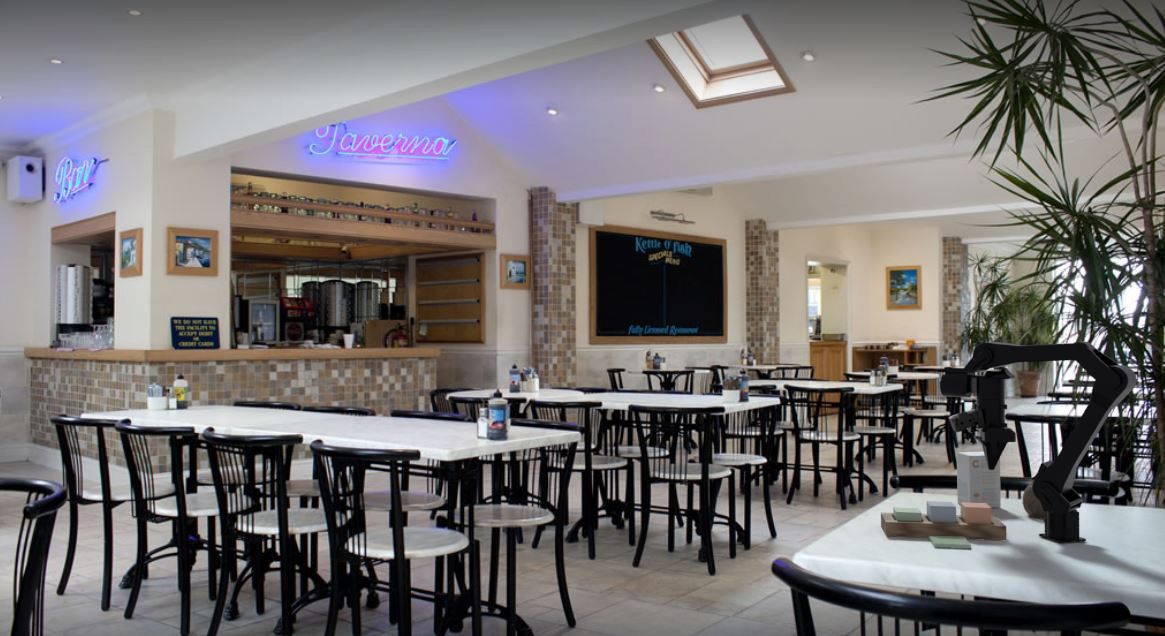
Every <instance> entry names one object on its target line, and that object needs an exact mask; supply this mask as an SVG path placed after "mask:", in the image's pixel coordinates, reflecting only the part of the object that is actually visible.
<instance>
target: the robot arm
mask: <svg viewBox="0 0 1165 636" xmlns="http://www.w3.org/2000/svg"><path fill="white" fill-rule="evenodd" d="M1055 361H1056V362H1059V361H1061V362H1062V361H1063V362H1064V361H1065V362H1066V361H1075V362H1076V363H1077V364H1079V365H1080V366H1081V367H1082V369H1083V370H1084V371H1085V372H1086V373H1087V374H1088V375H1089V376H1090V377H1091V378H1093V379H1094V382H1093V385H1092V388H1091V393H1090V399H1089V402H1088V405H1087V406H1086V408H1085V410H1083V413H1082V415H1081V416H1080V418H1079V419H1078V421H1077V422H1076V424H1075V425H1074V428H1073V429H1072V432H1071V433H1070V434H1069V436H1068V438H1067V440H1066V441H1065V443H1064V445H1063V447H1062V448H1061V450H1060V452H1059V453H1058V455H1057V457H1056V458H1055V459H1054V460H1048V461H1044V462H1042V463H1040V465H1039V467H1038V470H1037V472H1036V474H1035V475H1034V476H1033V477H1031V481H1032V480H1035V481H1034V482H1033V485H1032V490H1033V493H1034V495H1035V496H1036V498H1037V499H1039V500H1040V503H1041V505H1042V508H1043V510H1044V511H1045V518H1044V533H1039V534H1038V536H1039V537H1041V538H1043V539H1047V540H1049V541H1053V542H1056V543H1061V544H1063V543H1079V542H1087V538H1085V537H1082V536H1080V511H1078V510H1077V509H1080V508H1081V507H1082V505H1083V502H1084V498H1083V497H1082V496H1081V495H1080V494H1079V493H1078V492H1077V491H1076V490H1075V489H1074V488H1073V485H1074V482H1075V480H1076V475H1077V470H1078V466H1079V464H1080V463H1081V462H1082V460H1083V458H1084V457H1085V455H1086V454H1087V452H1088V450H1089V448H1090V446H1091V445H1092V443H1093V441H1094V440H1095V438H1096V436H1097V435H1098V433H1099V432H1100V430H1101V428H1102V427H1103V425H1104V424H1105V421H1107V418H1108V417H1109V416H1110V414H1111V412H1112V411H1113V409H1114V408H1115V407H1116V406H1118V405H1119V404H1120V403H1121V402H1122V401H1123V400H1124V399H1125V398H1126V397H1127V396H1128V395H1129V394H1130V392H1131V391H1132V390H1134V388H1135V387H1136V384H1137V381H1138V378H1137V375H1136V372H1134V370H1133V369H1132V368H1130V367H1129V366H1127V365H1123V364H1119V363H1118V362H1116V361H1115V360H1114V359H1113V358H1111V357H1109V356H1108V355H1106V354H1104V353H1103V352H1102V351H1100V350H1099V349H1098V348H1096V347H1095V346H1094V345H1093V343H1091V342H1089V341H1075V342H1073V343H1072V342H1071V343H1067V342H1065V343H1050V344H1029V345H1028V344H1026V345H1021V344H1015V343H1008V342H1000V341H988V342H980V343H978V344H976V346H975V347H974V349H973V352H972V357H971V358H970V360H969V361H968V362H967V363H966V364H965V366H964V367H955V366H944V368H943V373H942V375H941V378H940V381H939V389H940V390H939V391H940V393H941V395H942V396H943V397H951V398H952V397H955V398H965V399H967V398H968V399H970V398H971V397H972V396H973V394H976V402H974V403H973V405H972V409H969V410H963V412H958V413H956V414H953V415H951V416H948V420H949V422H950V423H949V424H950V425H951V428H952V430H953V432H955V433H961V432H963V431H964V430H967V432H968V433H970V434H971V433H972V434H973V433H974V432H977V435H973V438H974V439H976V441H978V443H980V444H981V447H982V452H984V455H985V459H986V463H987V467H988V469H989V470H994V469H995V467H996V465H997V463H998V461H999V458H1000V459H1001V456H1002V454H1003V452H1004V450H1005V448H1006V447H1007V445H1008V444H1009V443H1016V442H1017V437H1016V436H1017V435H1016V431H1014V430H1013V429H1012V428H1010V427H1008V423H1007V422H1006V410H1008V404H1007V403H1006V391H1005V389H1006V387H1005V386H1006V385H1005V384H1006V383H1005V381H1006V380H1013V379H1015V378H1016V375H1015V374H1014V373H1012V372H1011V371H1010V370H1009V368H1008V367H1007V366H1011V365H1015V364H1020V363H1035V362H1036V363H1037V362H1055ZM1000 367H1003V368H1001V369H1000V370H990V369H994V368H1000ZM981 372H985V373H984V374H976V373H981Z"/></svg>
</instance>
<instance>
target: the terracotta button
mask: <svg viewBox="0 0 1165 636" xmlns="http://www.w3.org/2000/svg"><path fill="white" fill-rule="evenodd" d="M960 515H961V520H962V522H963V523H981V524H991V516H992V508H991V507H990V506H989V505H988V504H986V503H967V502H961V505H960Z"/></svg>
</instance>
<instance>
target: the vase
mask: <svg viewBox="0 0 1165 636" xmlns="http://www.w3.org/2000/svg"><path fill="white" fill-rule="evenodd" d="M1034 481H1035V480H1032V479H1031V481H1030V483H1029V484H1028V485H1027V486H1026V488H1025V489H1024V492H1023V495H1022V506H1023V509H1024V511H1025V512H1026V513H1027V515H1029V517H1033V518H1041V519H1045V511H1044V510H1043V508H1042V505H1041V503H1040V500H1039V499H1037V498H1036V496H1035V495H1034V493H1033V490H1032V485H1033V482H1034Z"/></svg>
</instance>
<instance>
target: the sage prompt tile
mask: <svg viewBox="0 0 1165 636" xmlns="http://www.w3.org/2000/svg"><path fill="white" fill-rule="evenodd" d="M928 540H929V542H930V543H931V545H932V546H933V548H938V547H953V548H952V549H962V548H971V549H972V544H971V543H970V542H969V541H968V539H966V538H965V537H954V536H929V538H928Z"/></svg>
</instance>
